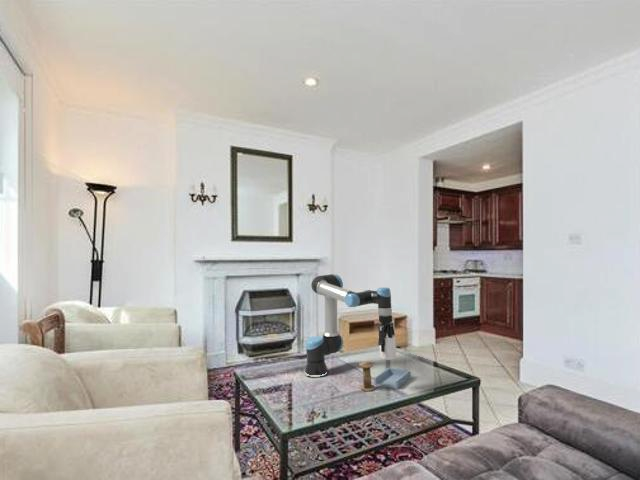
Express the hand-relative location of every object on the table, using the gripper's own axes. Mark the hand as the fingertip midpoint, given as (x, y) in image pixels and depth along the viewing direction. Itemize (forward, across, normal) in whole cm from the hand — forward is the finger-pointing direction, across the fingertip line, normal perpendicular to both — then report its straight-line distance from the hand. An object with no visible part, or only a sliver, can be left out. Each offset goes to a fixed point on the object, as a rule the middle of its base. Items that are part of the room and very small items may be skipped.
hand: (388, 354), depth 195 cm
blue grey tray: (+19, +12, +4) cm, 23 cm away
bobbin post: (+19, -5, +12) cm, 23 cm away
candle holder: (+2, 0, 0) cm, 2 cm away
